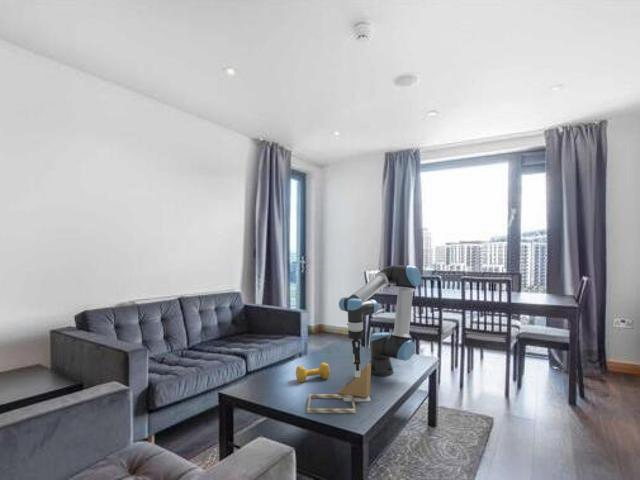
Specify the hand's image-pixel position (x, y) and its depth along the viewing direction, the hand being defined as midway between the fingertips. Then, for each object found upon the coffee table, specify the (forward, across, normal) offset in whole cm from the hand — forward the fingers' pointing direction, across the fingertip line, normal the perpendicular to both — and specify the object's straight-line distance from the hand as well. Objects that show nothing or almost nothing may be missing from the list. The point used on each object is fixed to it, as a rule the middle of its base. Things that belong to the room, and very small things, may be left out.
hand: (356, 371), depth 183 cm
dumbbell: (+12, -22, -24) cm, 35 cm away
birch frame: (+11, +11, -13) cm, 21 cm away
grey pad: (+12, +1, -1) cm, 12 cm away
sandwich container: (+11, 0, -2) cm, 11 cm away
